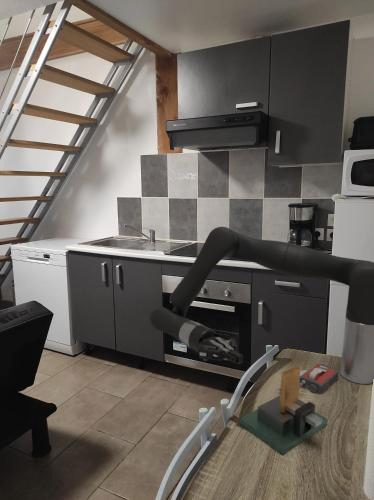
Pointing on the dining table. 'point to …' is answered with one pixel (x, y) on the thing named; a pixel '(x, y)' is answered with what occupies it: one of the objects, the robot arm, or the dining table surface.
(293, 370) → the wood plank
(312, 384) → the walkie-talkie
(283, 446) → the green tiered platform
